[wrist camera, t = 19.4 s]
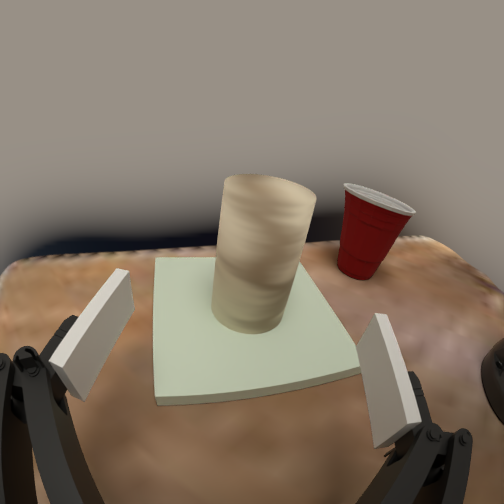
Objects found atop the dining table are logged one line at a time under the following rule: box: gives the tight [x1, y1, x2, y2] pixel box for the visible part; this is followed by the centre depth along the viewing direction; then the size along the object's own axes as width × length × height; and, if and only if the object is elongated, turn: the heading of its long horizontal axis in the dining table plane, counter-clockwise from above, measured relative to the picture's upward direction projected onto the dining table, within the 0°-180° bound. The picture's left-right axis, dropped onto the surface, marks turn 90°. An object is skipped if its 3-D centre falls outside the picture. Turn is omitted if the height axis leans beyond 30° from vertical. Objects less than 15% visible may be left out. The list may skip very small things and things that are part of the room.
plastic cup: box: [337, 183, 416, 280], centre depth 36 cm, size 11×11×12 cm
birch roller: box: [211, 174, 316, 334], centre depth 23 cm, size 7×7×12 cm
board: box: [153, 257, 361, 406], centre depth 27 cm, size 18×18×2 cm
